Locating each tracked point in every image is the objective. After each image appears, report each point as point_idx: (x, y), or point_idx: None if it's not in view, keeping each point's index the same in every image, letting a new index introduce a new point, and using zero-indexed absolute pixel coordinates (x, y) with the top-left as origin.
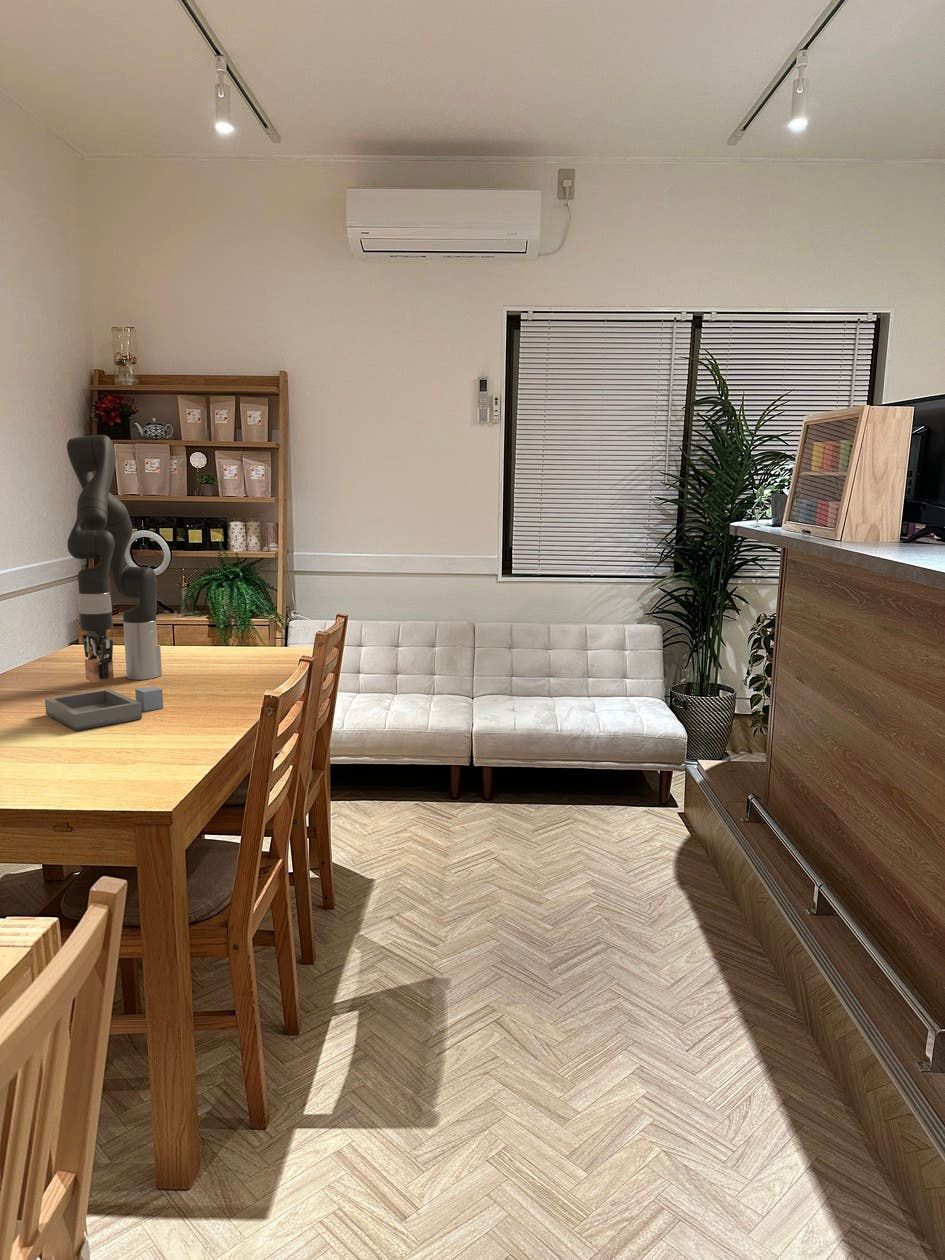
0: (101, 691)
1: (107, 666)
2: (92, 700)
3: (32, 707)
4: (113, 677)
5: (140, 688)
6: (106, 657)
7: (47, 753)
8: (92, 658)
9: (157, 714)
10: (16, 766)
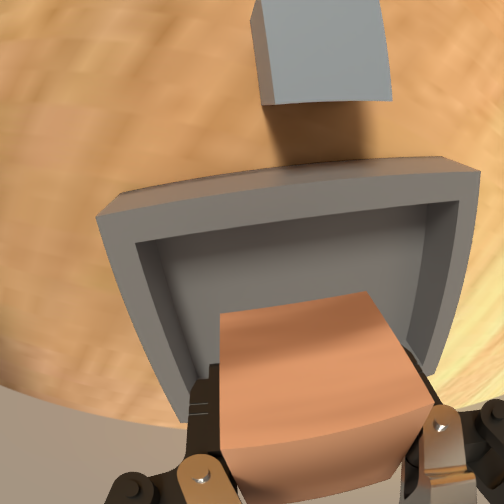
0: (139, 260)
1: (436, 397)
2: (160, 281)
3: (83, 384)
4: (372, 300)
5: (279, 72)
6: (450, 456)
7: (474, 375)
8: (236, 493)
9: (414, 81)
10: (479, 398)
